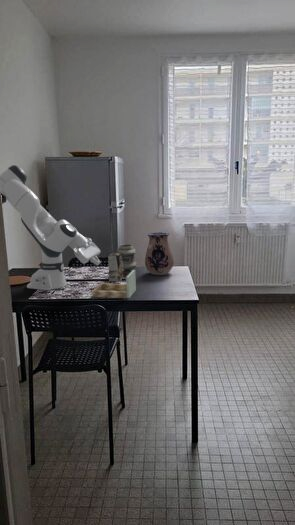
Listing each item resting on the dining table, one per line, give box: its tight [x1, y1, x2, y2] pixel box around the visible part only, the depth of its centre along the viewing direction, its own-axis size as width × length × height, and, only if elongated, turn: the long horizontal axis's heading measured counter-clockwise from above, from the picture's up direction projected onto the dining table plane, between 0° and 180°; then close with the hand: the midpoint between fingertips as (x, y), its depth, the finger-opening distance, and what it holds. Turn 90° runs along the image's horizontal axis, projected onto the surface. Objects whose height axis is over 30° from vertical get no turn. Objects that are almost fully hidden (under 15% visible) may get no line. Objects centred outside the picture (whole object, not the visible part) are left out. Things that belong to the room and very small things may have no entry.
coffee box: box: [107, 252, 124, 282], centre depth 237 cm, size 9×6×16 cm
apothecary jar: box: [116, 243, 137, 276], centre depth 252 cm, size 12×12×18 cm
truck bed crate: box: [91, 282, 128, 299], centre depth 212 cm, size 18×14×4 cm
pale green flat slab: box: [125, 269, 137, 299], centre depth 209 cm, size 1×14×12 cm, turn 167°
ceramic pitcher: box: [144, 231, 174, 276], centre depth 250 cm, size 18×21×25 cm
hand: (99, 264), depth 209 cm, fingers closed
